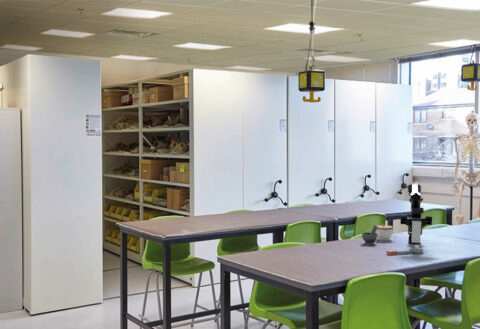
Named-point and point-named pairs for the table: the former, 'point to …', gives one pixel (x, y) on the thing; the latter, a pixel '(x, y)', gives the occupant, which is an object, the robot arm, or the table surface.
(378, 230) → the lidded bowl
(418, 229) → the socket
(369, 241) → the mortar and pestle
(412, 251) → the ratchet
